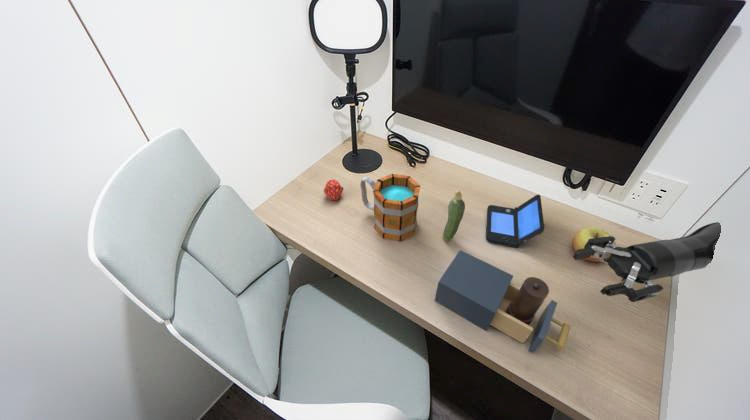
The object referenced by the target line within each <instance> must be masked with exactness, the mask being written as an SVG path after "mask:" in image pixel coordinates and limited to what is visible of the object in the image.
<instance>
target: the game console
mask: <svg viewBox="0 0 750 420" xmlns="http://www.w3.org/2000/svg"><path fill="white" fill-rule="evenodd" d="M485 227H486V228H485V229H486V230H485V240H486V241H487V242H488V243H492V244H495V245H500V246H505V247H506V246H507V247H512V248H516V249H518V248H520V245H522V244H524V243H526V242H528V241H530V240H531V239H534V238H535V237H537V236H539V235H540V234H542V233H544V231H545V221H544V213H543V206H542V197H541V195H540V194H536V195H534V196H532V197H531V198H530V199H527V200H526V201H525V202H523V203H522V204H520V205H519V206H516V207H514V208H512V207H506V206H500V205H495V204H490V205H488V206H487V209H486V226H485Z"/></svg>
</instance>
